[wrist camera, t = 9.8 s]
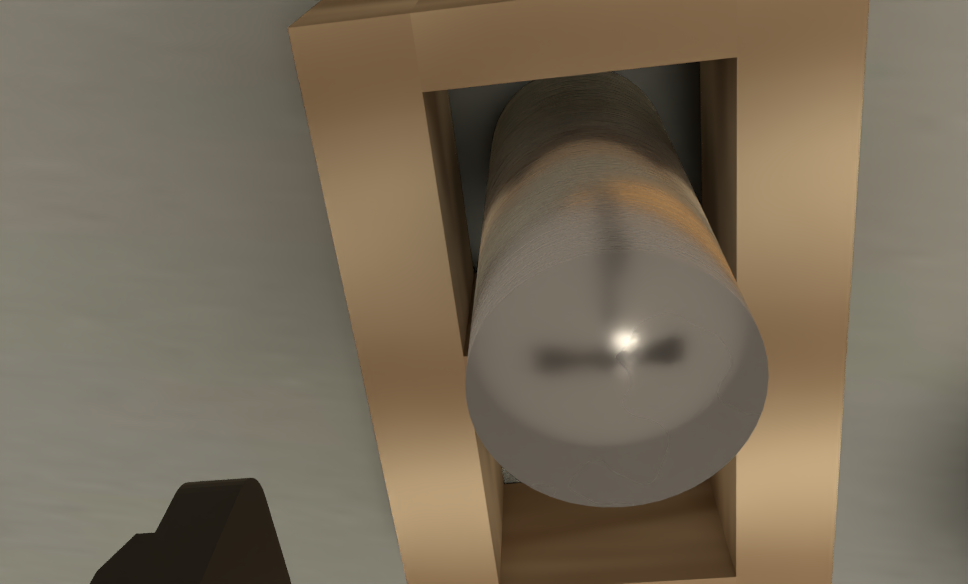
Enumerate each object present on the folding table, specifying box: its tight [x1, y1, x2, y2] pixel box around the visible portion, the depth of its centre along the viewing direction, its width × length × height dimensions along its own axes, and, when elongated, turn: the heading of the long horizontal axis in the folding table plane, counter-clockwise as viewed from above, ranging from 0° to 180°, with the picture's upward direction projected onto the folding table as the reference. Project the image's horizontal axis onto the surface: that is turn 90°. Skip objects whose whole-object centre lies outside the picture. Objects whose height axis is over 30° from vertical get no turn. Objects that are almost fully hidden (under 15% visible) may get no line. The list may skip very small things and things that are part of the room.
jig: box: [288, 0, 869, 584], centre depth 21 cm, size 15×10×4 cm, turn 7°
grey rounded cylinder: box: [465, 71, 769, 507], centre depth 17 cm, size 4×4×10 cm
